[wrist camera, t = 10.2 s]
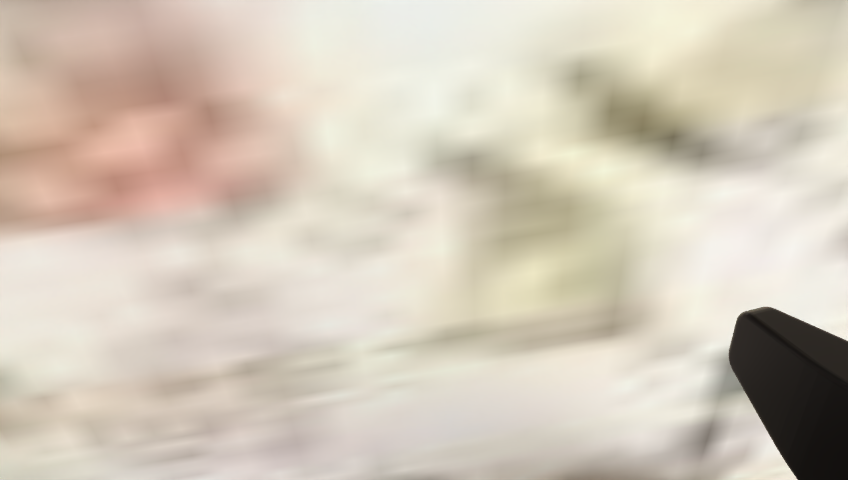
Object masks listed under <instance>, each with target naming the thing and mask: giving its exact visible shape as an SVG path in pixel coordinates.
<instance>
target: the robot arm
mask: <svg viewBox="0 0 848 480" xmlns="http://www.w3.org/2000/svg"><path fill="white" fill-rule="evenodd" d="M729 361H730V365H731V367H732V370H733V372H734V373H735V375H736V377H737V379H738V380H739V382H740V384H741V386H742V387H743V389H744V391H745V393H746V394H747V396H748V398H749V400H750V401H751V403H752V405H753V407H754V409H755V410H756V412H757V414H758V416H759V417H760V419H761V421H762V423H763V424H764V426H765V428H766V430H767V431H768V433H769V435H770V437H771V438H772V440H773V442H774V444H775V445H776V447H777V449H778V450H779V452H780V454H781V455H782V457H783V459H784V460H785V462H786V463H787V465H788V466H789V468H790V469H791V471H792V472H793V474H794V475H795V476H796V478H797V479H798V480H848V341H846V340H844V339H842V338H840V337H837V336H835V335H833V334H831V333H828V332H826V331H824V330H822V329H819V328H817V327H815V326H813V325H810V324H808V323H806V322H804V321H801V320H799V319H797V318H795V317H792V316H790V315H788V314H786V313H783V312H781V311H779V310H777V309H774V308H771V307H761V308H757V309H753V310H749V311H745V312H743V313H741V314H740V315H739V316H738V318H737V321H736V325H735V329H734V333H733V337H732V341H731V345H730V349H729Z"/></svg>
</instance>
